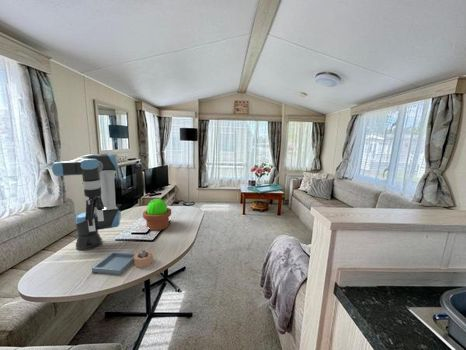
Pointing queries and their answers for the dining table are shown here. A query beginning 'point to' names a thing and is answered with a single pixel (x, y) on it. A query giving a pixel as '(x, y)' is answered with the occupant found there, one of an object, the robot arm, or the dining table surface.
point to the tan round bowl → (143, 259)
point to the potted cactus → (157, 214)
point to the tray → (114, 263)
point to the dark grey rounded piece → (142, 255)
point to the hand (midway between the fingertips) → (96, 225)
